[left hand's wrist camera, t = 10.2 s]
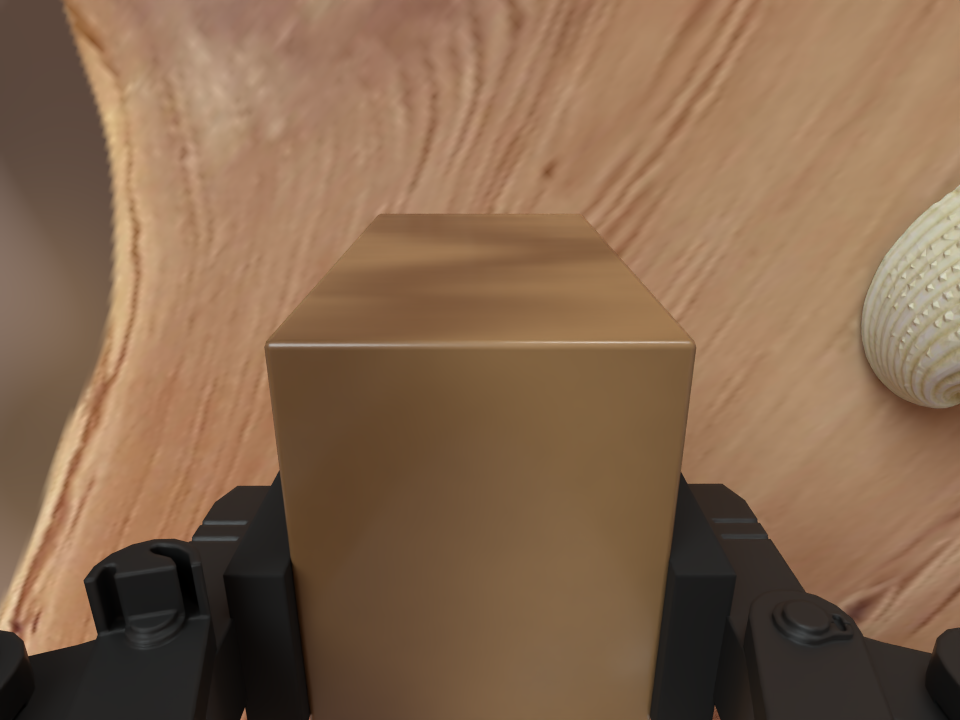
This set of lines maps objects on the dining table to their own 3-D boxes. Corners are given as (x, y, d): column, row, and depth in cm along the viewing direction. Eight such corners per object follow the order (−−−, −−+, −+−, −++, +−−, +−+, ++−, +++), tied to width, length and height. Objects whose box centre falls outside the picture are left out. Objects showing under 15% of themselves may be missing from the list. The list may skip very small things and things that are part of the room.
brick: (582, 212, 16) (699, 341, 7) (566, 512, 19) (635, 846, 10) (377, 213, 16) (260, 342, 7) (393, 512, 19) (323, 847, 10)
